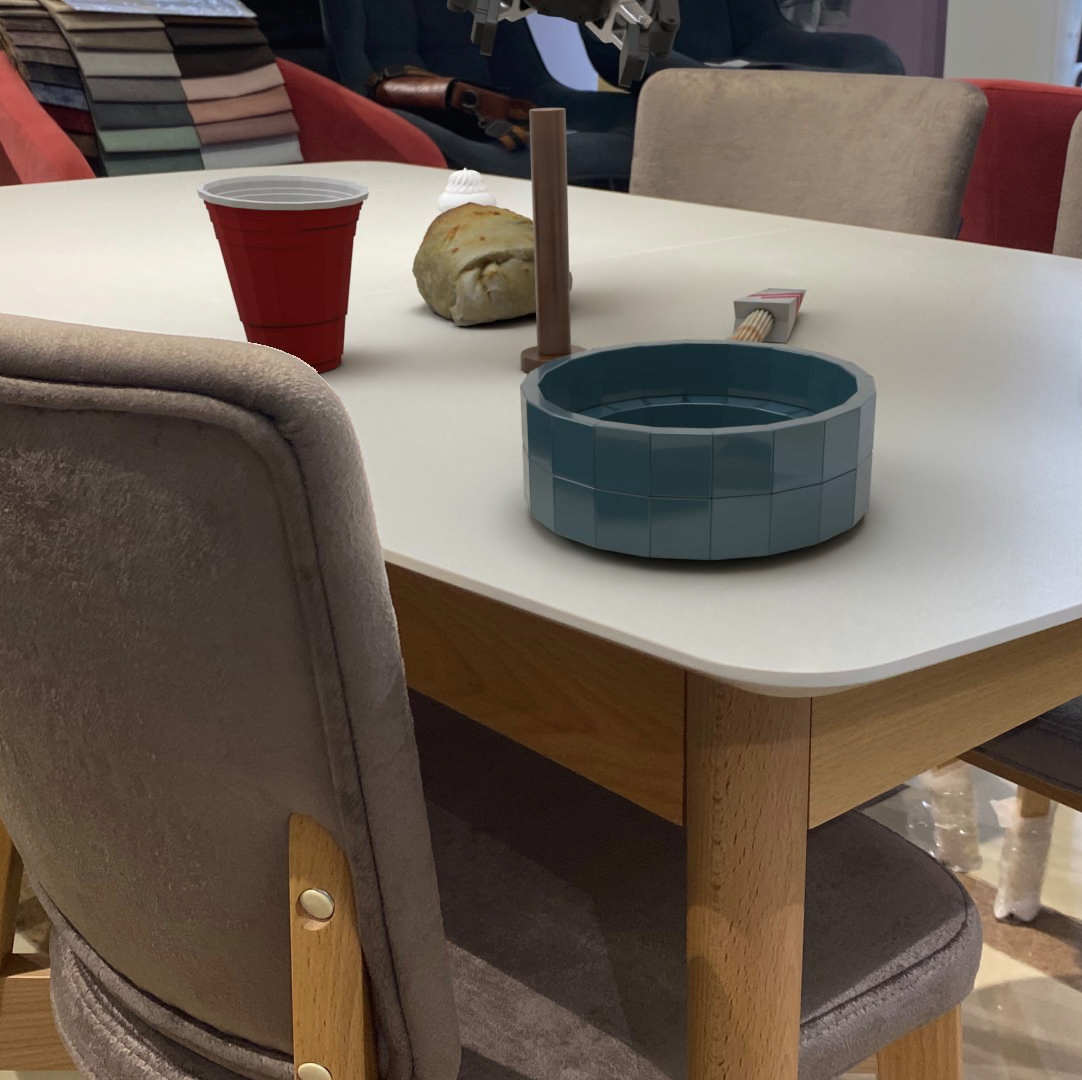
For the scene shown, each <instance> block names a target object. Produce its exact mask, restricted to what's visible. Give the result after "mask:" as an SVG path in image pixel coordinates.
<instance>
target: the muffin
mask: <svg viewBox="0 0 1082 1080" xmlns="http://www.w3.org/2000/svg"><path fill="white" fill-rule="evenodd" d="M447 182H448V184H447V185H446V187H445V188H444V192H442V193H441V194H440V196H439V197H438V198H437V201H436V207H437V210H438V212H439V213H440V214H442V213H443V212H445V211H447V210H449V209H452V208H455V207H458V206H461V205H463V204H466V203H468V202H472V203H476V204H480V205H483V206H487V205H491V206H496V207H497V203H498V201H497V198H496V196H495V195H494V194H493V193H492V192H491V191H490V190H489V189H488V186H487V185H486V184H485V183H484V177H483V176H482V174H481V173H480V172H478V171H476V170H473V169H467V168H466V167H464V168H463V169H461V170H456V171H454V172H453V173H451V174H450V175H449V177H448V179H447Z"/></svg>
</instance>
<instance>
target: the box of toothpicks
mask: <svg viewBox="0 0 1082 1080" xmlns="http://www.w3.org/2000/svg"><path fill="white" fill-rule="evenodd" d="M806 292H807V289H804V288H777V287H776V288H775V287H769V288H766V289H763V290H760V291H758V292H757V291H756V292H755V293H752V294H749V295H745V296H744V297H741V298H738V299H735V300H733V309H734V325H733V330H732V335H731V337H730V338H729V339H728V340H737V341H749V342H760V343H783V344H784V343H785V344H786V343H788V341H789V338H790V335H791V332H792V330H793V327H794V324H795V322H796V319H797V316H798V313H799V311H800V308H801V307H802V303H803V300H804V297H805V295H806Z"/></svg>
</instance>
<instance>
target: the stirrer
mask: <svg viewBox="0 0 1082 1080" xmlns="http://www.w3.org/2000/svg"><path fill="white" fill-rule="evenodd" d="M528 114H529V115H528V117H529V144H530V146H529V147H530V173H531V174H530V175H531V202H532V204H531V205H532V221H533V237H534V266H535V295H536V313H535V322H536V323H535V324H536V325H535V326H536V345H534V346H530V347H527V348H525V349H523V350H521V352H520V368H521V370H522V371H523V372H525V373H528V374H529V373H530V371H532V370H534V369H536V368H538V367H540V366H542V365H544V364H546V363H548V362H550V361H552V360H554V359H557V358H560V357H564V356H568V355H571V354H575V353H579V352H582V351H586V350H588V349H587V348H586V347H583V346H580V345H577V344H572V322H571V319H572V318H571V291H570V277H569V271H570V244H569V243H570V241H569V240H570V238H569V199H568V160H567V159H568V158H567V157H568V155H567V154H568V153H567V121H566V120H567V117H566V116H567V115H566V108H564V107H539V108H531V109H529V110H528Z"/></svg>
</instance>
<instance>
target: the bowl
mask: <svg viewBox="0 0 1082 1080" xmlns="http://www.w3.org/2000/svg"><path fill="white" fill-rule="evenodd" d="M519 392H520V393H519V394H520V395H519V397H520V414H521V415H520V417H521V418H520V419H521V422H520V423H521V442H522V466H523V467H522V468H523V494H524V495H523V496H524V499H525V502H526V505H527V508H528V511H529V514H530V516H531V517H532V518H534V519H535V520H536V521H538V522H539V523H541V524H542V525H544V526H545V527H546V528H547V529H549V531H551V532H552V533H554V534H555V535H558V536H561V537H564V538H566V539H570V540H572V541H576V542H578V543H581V544H583V545H586V546H589V547H591V548H594V549H598V550H604V551H610V552H615V553H621V554H626V555H633V556H638V557H644V558H652V559H657V558H658V559H674V560H699V561H700V560H701V561H720V560H732V559H745V558H754V557H756V558H757V557H767V556H773V555H777V554H781V553H785V552H790V551H794V550H798V549H803V548H808V547H812V546H815V545H818V544H821V543H824V542H826V541H827V540H830V539H832V538H834V537H836V536H838V535H840V534H842V533H844V532H847V531H849V530H851V529H852V528H854V527H855V526H856V525H857V523H859V521H860V520H861V519H862V517H863V516H864V515H865V514H866V512H867V511H868V510H869V508H870V498H871V483H872V468H873V467H872V466H873V454H874V453H873V450H874V439H875V438H874V437H875V425H876V423H875V422H876V410H877V409H876V408H877V394H878V393H877V388H876V382H875V377H874V376H873V375H871V374H870V373H869V372H868V371H866V370H864V369H863V368H861V367H860V366H859V365H858V364H855V363H854V362H852V361H849V360H846V359H844V358H840V357H838V356H834V355H832V354H828V353H825V352H822V351H817V350H812V349H807V348H801V347H796V346H790V345H785V344H778V343H772V342H761V343H760V342H749V341H737V340H729V339H701V338H700V339H695V338H694V339H693V338H690V339H687V338H685V339H669V340H668V339H667V340H654V341H653V340H649V341H637V342H627V343H622V344H614V345H609V346H608V345H607V346H601V347H595V348H589V349H587V350H586V351H582V352H579V353H575V354H571V355H568V356H564V357H560V358H557V359H554V360H552V361H550V362H548V363H546V364H544V365H542V366H540V367H538V368H536V369H534V370H532V371H530V373H528V374H527V375H526V377H525V378H524V379H523V381H522V382H521V383H520V385H519Z"/></svg>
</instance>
